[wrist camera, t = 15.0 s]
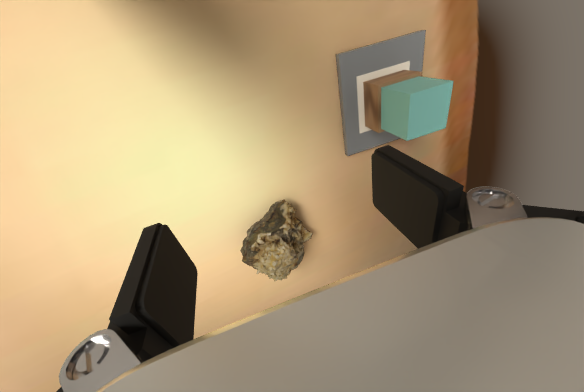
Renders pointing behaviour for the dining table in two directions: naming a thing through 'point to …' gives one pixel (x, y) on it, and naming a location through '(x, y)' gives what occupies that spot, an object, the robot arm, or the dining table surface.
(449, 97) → the teal block
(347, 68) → the grey square mat
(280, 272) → the mineral specimen
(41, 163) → the dining table surface
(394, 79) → the walnut block
